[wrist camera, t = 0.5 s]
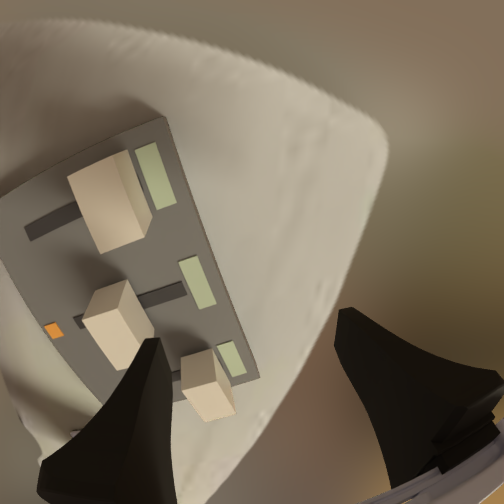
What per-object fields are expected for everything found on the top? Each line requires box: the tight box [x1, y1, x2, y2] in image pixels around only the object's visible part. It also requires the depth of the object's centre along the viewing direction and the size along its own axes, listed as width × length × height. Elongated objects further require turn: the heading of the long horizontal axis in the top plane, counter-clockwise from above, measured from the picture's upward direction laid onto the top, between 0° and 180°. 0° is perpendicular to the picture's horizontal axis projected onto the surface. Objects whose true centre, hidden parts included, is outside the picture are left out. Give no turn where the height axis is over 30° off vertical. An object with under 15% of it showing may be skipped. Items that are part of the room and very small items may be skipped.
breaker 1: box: [67, 150, 152, 254], centre depth 14 cm, size 2×4×3 cm, turn 16°
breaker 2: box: [181, 348, 236, 422], centre depth 20 cm, size 2×4×3 cm, turn 15°
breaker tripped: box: [82, 279, 155, 371], centre depth 17 cm, size 2×4×3 cm, turn 15°
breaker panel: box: [0, 116, 260, 405], centre depth 19 cm, size 14×20×2 cm
